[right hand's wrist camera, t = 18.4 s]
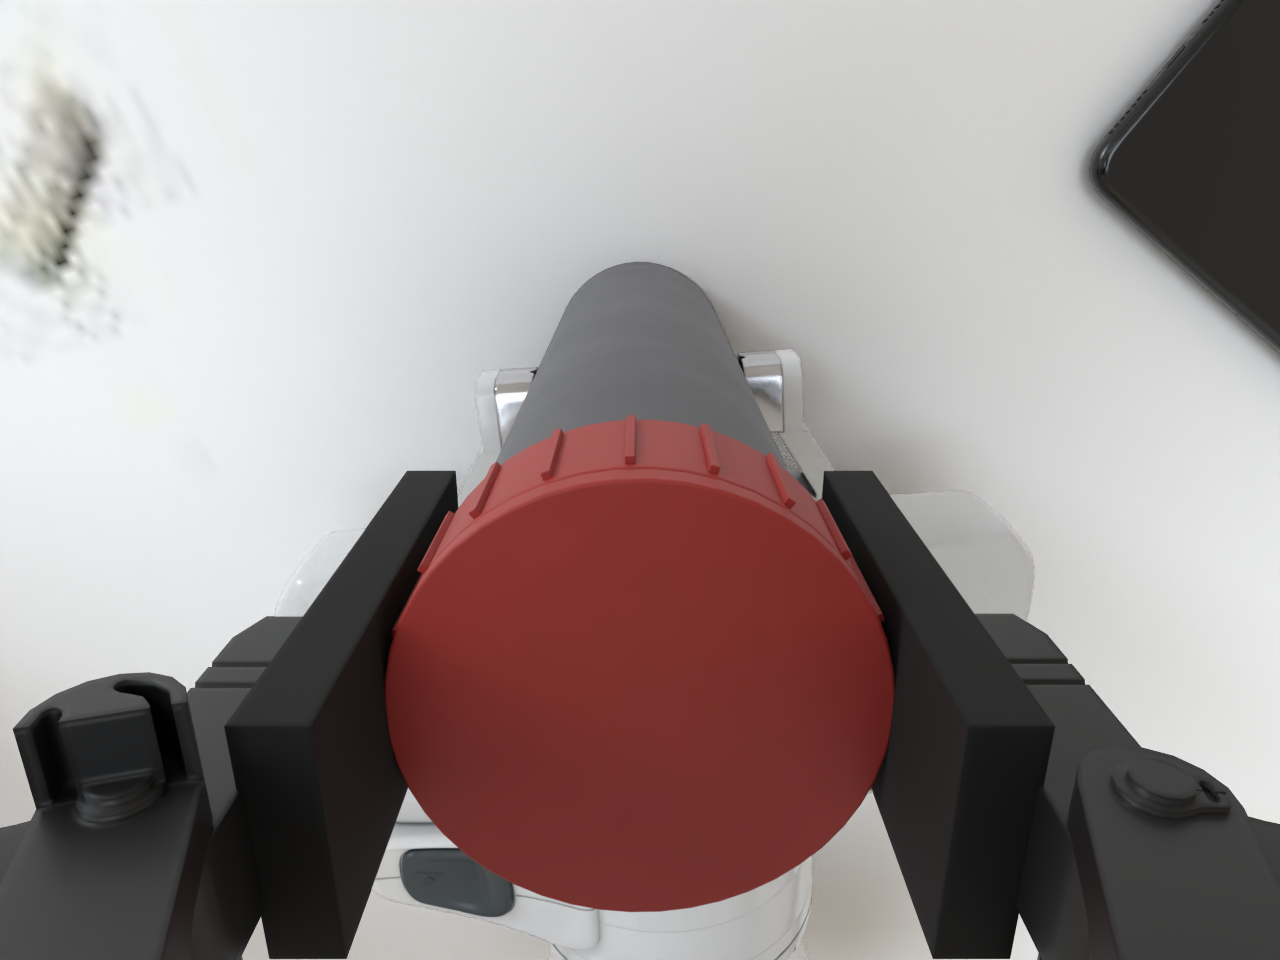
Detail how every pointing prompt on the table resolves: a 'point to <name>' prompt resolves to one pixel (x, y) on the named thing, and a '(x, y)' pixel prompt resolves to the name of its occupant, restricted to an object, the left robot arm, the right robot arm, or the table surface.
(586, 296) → the jar
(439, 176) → the table surface
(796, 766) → the lid
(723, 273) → the table surface
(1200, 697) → the table surface
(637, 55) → the table surface
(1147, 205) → the smartphone
